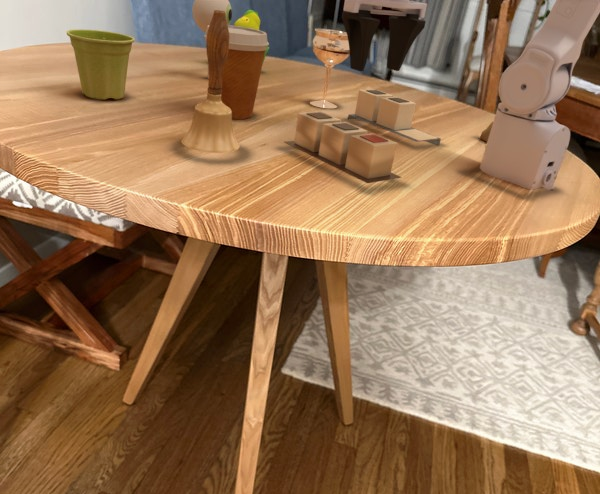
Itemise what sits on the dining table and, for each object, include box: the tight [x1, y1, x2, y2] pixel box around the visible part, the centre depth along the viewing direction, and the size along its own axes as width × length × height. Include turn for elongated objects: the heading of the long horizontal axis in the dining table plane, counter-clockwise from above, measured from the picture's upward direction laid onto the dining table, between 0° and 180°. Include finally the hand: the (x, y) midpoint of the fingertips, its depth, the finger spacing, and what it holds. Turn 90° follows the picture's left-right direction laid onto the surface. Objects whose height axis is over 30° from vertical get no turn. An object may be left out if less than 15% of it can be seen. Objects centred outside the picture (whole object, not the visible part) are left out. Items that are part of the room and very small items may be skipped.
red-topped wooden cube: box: [345, 132, 398, 179], centre depth 68 cm, size 4×4×4 cm
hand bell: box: [181, 10, 241, 154], centre depth 67 cm, size 8×8×16 cm
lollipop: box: [191, 0, 233, 80], centre depth 105 cm, size 7×7×15 cm
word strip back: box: [347, 88, 442, 146], centre depth 90 cm, size 15×6×5 cm, turn 39°
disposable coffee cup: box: [203, 24, 270, 120], centre depth 85 cm, size 10×10×12 cm
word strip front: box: [284, 111, 402, 184], centre depth 72 cm, size 16×6×5 cm, turn 39°
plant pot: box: [66, 29, 136, 101], centre depth 85 cm, size 9×9×9 cm
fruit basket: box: [233, 9, 270, 66], centre depth 119 cm, size 11×9×11 cm
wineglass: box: [309, 28, 350, 109], centre depth 99 cm, size 7×7×12 cm
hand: (375, 69), depth 83 cm, fingers open, 7 cm apart
